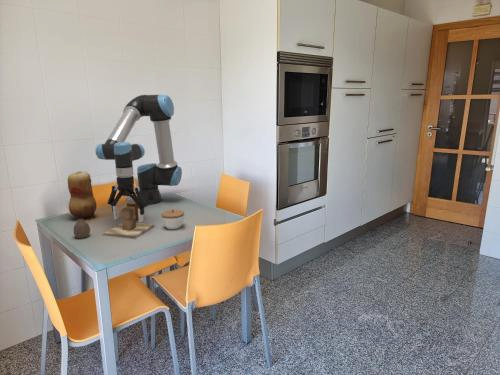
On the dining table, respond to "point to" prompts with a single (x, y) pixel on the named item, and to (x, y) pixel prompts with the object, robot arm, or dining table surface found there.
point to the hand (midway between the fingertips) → (128, 220)
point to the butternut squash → (81, 195)
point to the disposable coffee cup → (131, 203)
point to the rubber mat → (128, 237)
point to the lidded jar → (173, 219)
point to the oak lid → (129, 225)
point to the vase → (81, 229)
